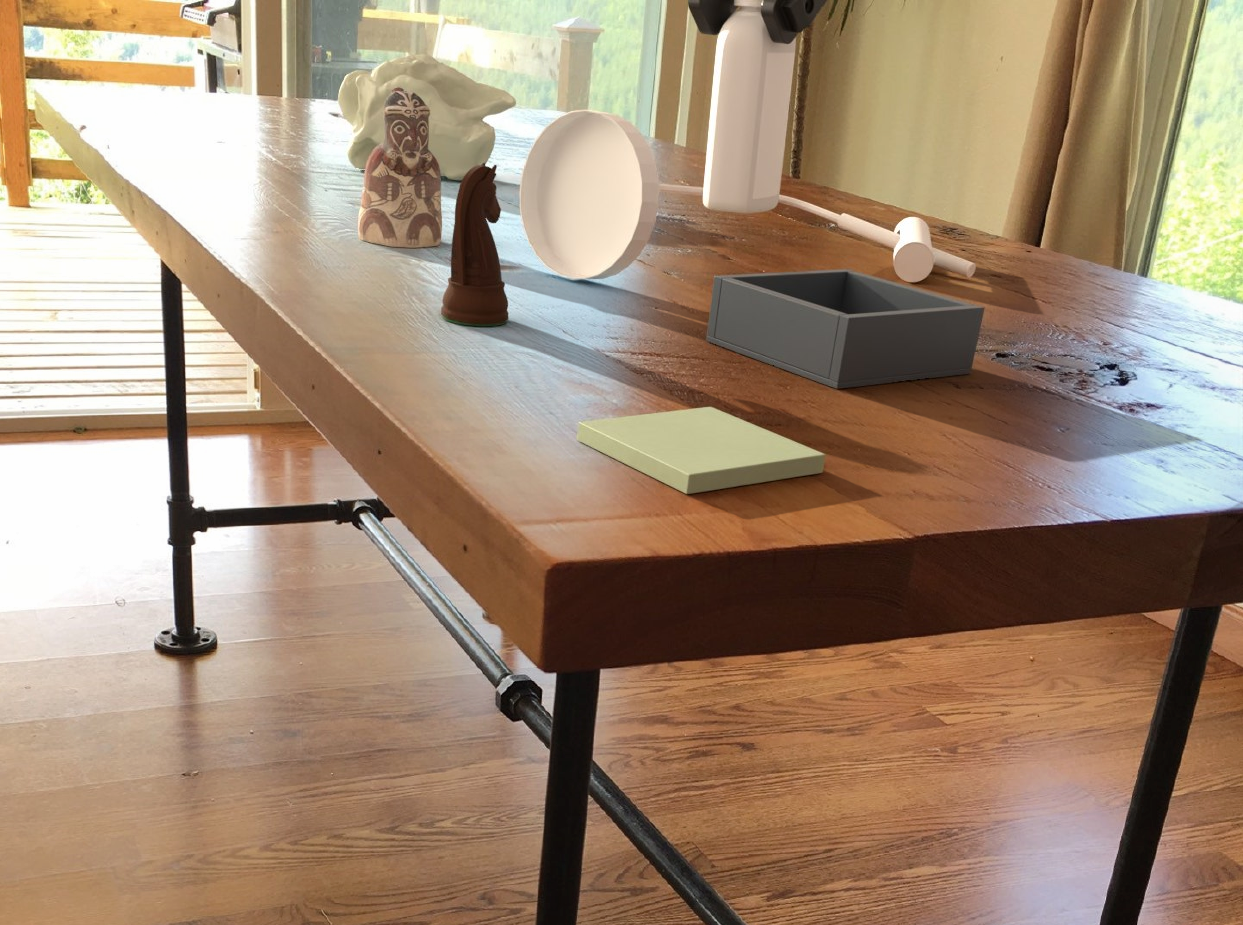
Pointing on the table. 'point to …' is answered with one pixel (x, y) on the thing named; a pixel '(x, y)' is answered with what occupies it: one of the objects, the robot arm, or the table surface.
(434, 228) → the figurine
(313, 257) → the table surface
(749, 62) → the eye dropper bottle
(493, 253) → the chess piece
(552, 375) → the table surface
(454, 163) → the folded clay sculpture
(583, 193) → the desk lamp
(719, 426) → the pad
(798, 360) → the bin
